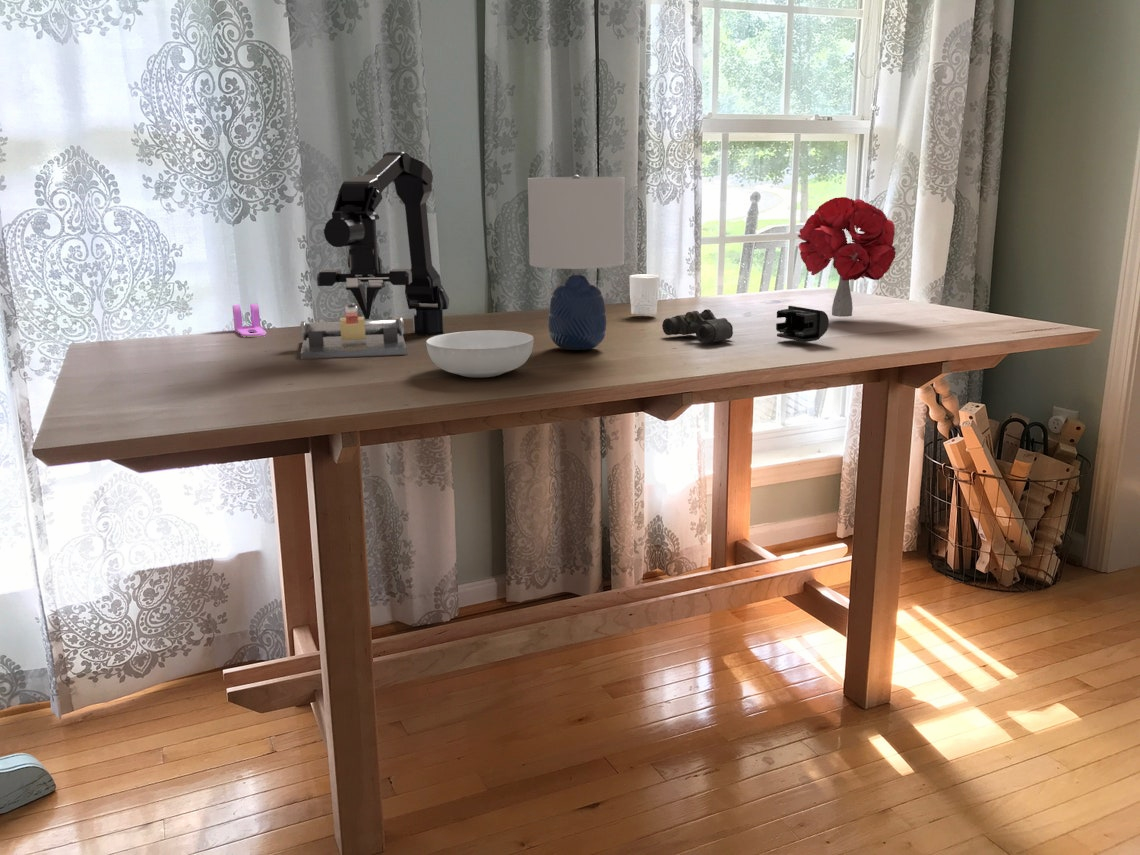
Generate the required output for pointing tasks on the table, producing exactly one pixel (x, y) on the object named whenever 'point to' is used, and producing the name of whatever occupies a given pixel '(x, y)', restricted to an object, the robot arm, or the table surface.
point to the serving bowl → (480, 352)
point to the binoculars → (699, 326)
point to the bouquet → (848, 245)
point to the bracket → (254, 317)
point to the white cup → (644, 293)
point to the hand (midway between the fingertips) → (367, 318)
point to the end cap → (802, 324)
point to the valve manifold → (353, 338)
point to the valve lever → (351, 313)
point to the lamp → (576, 249)
